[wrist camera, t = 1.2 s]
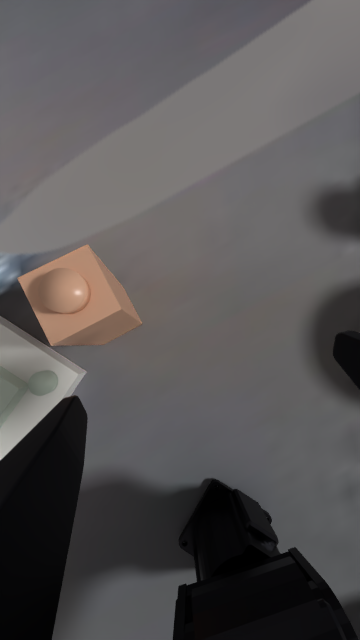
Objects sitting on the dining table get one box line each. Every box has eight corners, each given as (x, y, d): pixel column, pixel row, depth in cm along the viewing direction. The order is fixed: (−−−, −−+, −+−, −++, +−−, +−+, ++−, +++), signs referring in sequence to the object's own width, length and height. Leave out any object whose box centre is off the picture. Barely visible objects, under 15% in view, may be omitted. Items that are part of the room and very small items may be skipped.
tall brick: (142, 324, 23) (117, 306, 12) (103, 344, 23) (41, 345, 12) (122, 286, 23) (80, 236, 12) (83, 306, 23) (4, 272, 12)
